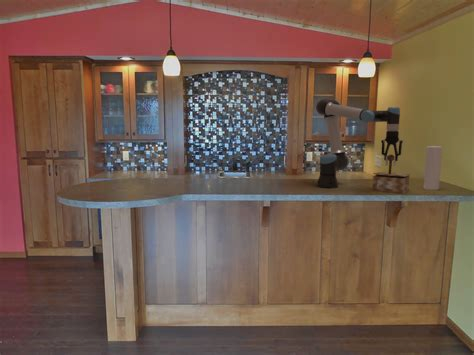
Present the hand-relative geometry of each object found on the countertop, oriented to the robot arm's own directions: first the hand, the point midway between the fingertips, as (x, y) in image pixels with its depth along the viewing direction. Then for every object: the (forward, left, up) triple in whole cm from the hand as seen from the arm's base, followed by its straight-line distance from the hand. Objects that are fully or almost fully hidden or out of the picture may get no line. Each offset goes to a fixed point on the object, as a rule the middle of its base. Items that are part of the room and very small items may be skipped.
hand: (390, 165), depth 233 cm
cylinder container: (+22, +25, -18) cm, 38 cm away
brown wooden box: (0, +4, -18) cm, 18 cm away
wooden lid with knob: (0, +4, -7) cm, 8 cm away
